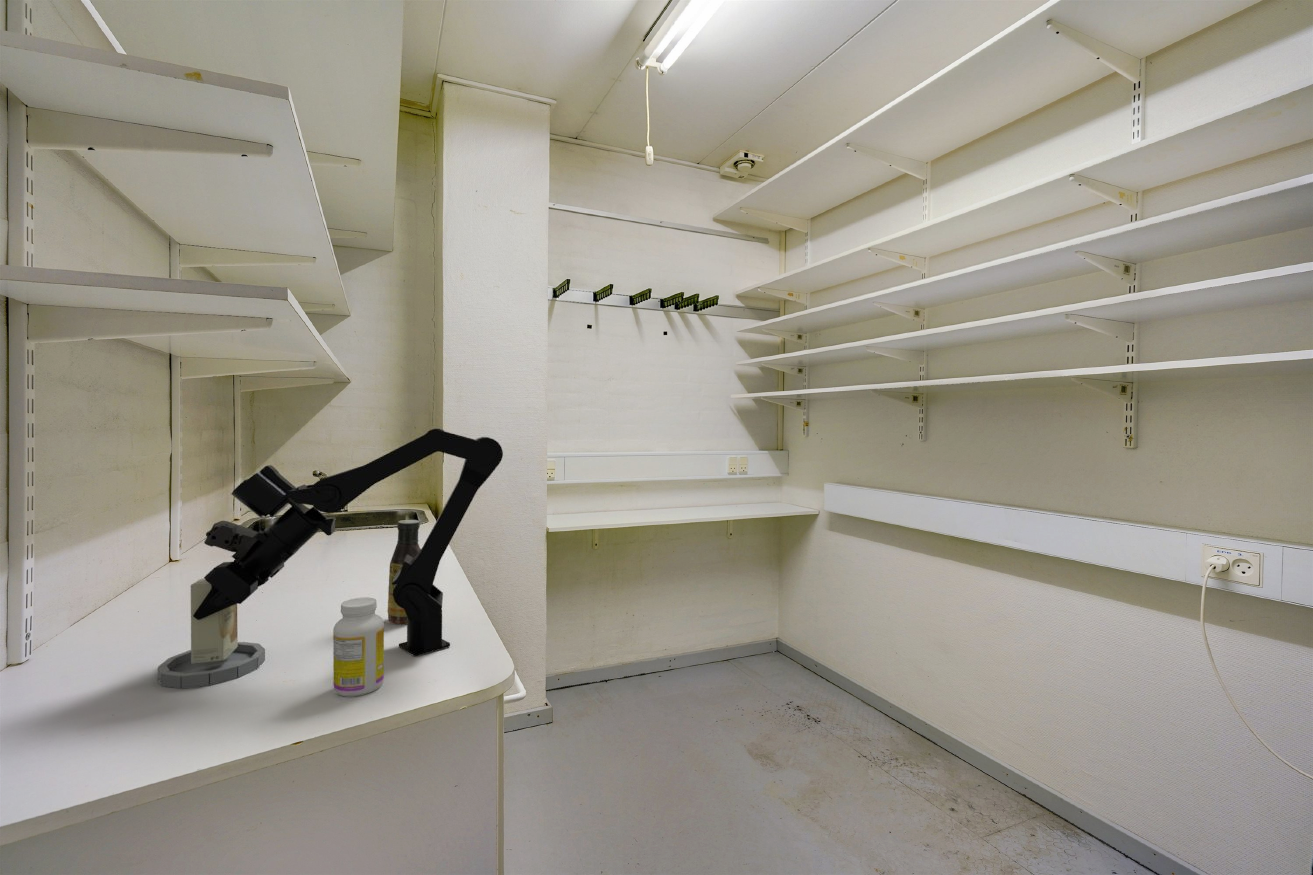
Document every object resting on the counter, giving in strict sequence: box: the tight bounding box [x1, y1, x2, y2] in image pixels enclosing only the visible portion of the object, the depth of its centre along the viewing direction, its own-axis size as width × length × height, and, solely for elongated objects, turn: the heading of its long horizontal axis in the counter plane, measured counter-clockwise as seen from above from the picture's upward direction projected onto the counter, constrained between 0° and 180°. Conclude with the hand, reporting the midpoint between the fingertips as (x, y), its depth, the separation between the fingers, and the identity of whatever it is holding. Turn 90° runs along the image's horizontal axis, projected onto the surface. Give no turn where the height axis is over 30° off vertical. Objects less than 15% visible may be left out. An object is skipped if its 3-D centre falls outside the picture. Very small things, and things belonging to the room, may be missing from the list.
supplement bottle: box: [332, 597, 385, 698], centre depth 85 cm, size 7×7×13 cm
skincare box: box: [190, 577, 239, 664], centre depth 91 cm, size 6×4×12 cm
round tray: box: [157, 641, 266, 689], centre depth 91 cm, size 13×13×2 cm
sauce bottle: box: [387, 519, 422, 625], centre depth 114 cm, size 6×6×20 cm
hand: (204, 611), depth 90 cm, fingers closed on skincare box, 6 cm apart
